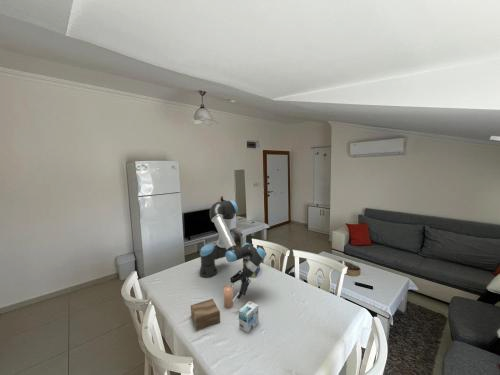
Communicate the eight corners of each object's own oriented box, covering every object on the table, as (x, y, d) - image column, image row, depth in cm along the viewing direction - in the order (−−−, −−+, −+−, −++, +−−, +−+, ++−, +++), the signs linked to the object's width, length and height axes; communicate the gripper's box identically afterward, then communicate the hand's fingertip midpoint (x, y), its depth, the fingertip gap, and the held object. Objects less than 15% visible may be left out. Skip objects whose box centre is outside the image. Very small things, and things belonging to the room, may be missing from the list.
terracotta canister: (222, 304, 145) (222, 287, 143) (231, 301, 147) (230, 284, 146) (226, 309, 139) (225, 291, 138) (234, 306, 142) (234, 289, 141)
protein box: (243, 276, 180) (242, 258, 178) (248, 267, 194) (248, 250, 193) (255, 277, 177) (254, 259, 175) (260, 269, 191) (259, 252, 190)
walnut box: (191, 315, 134) (190, 304, 134) (213, 308, 141) (212, 298, 140) (196, 330, 122) (195, 319, 121) (220, 322, 128) (219, 311, 127)
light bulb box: (248, 333, 119) (247, 315, 118) (238, 328, 123) (238, 310, 122) (259, 322, 128) (258, 304, 126) (250, 317, 132) (249, 300, 131)
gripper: (262, 280, 138) (241, 310, 133) (245, 264, 160) (226, 289, 155) (254, 274, 135) (233, 304, 130) (238, 259, 157) (219, 284, 152)
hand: (229, 296), depth 142 cm, fingers open, 13 cm apart
